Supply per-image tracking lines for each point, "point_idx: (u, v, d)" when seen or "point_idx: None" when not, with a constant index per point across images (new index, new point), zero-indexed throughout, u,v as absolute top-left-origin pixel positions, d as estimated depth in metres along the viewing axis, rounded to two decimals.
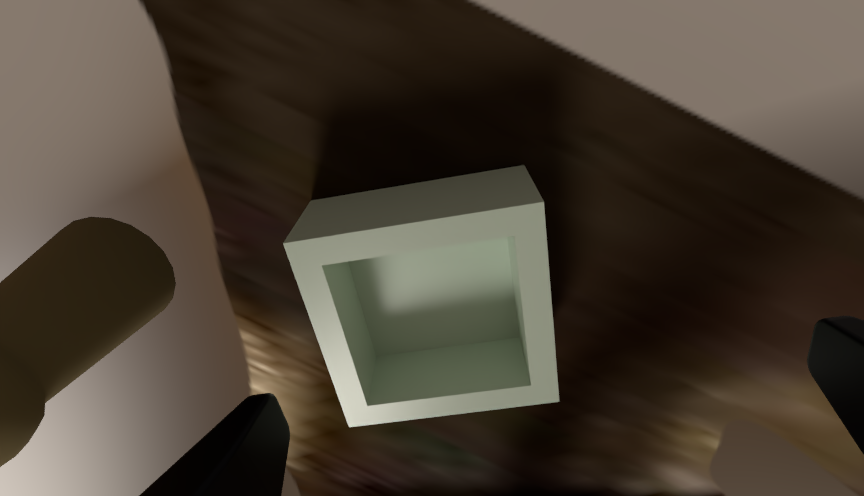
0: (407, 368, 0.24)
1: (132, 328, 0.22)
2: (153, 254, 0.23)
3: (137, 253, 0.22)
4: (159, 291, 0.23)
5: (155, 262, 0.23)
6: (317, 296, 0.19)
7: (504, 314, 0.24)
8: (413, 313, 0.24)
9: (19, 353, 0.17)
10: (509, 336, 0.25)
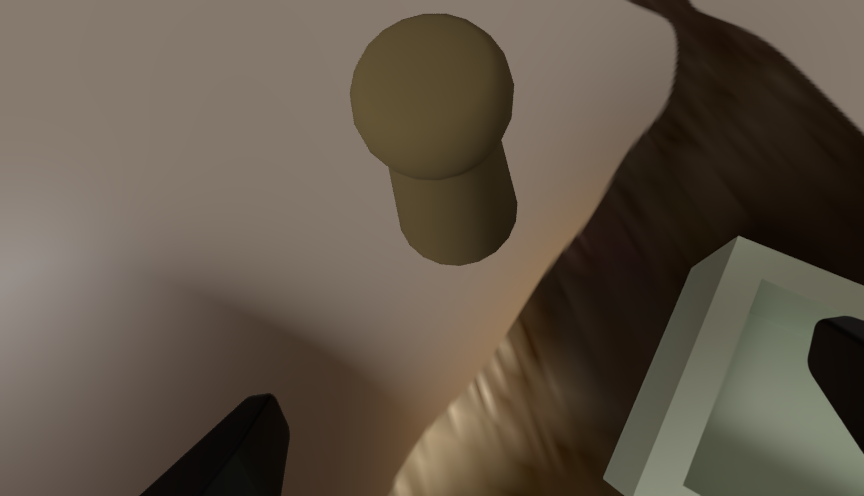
0: None
1: (473, 233, 0.20)
2: (515, 213, 0.23)
3: (514, 197, 0.22)
4: (496, 238, 0.22)
5: (512, 218, 0.23)
6: (731, 305, 0.17)
7: None
8: (737, 446, 0.18)
9: None
10: None
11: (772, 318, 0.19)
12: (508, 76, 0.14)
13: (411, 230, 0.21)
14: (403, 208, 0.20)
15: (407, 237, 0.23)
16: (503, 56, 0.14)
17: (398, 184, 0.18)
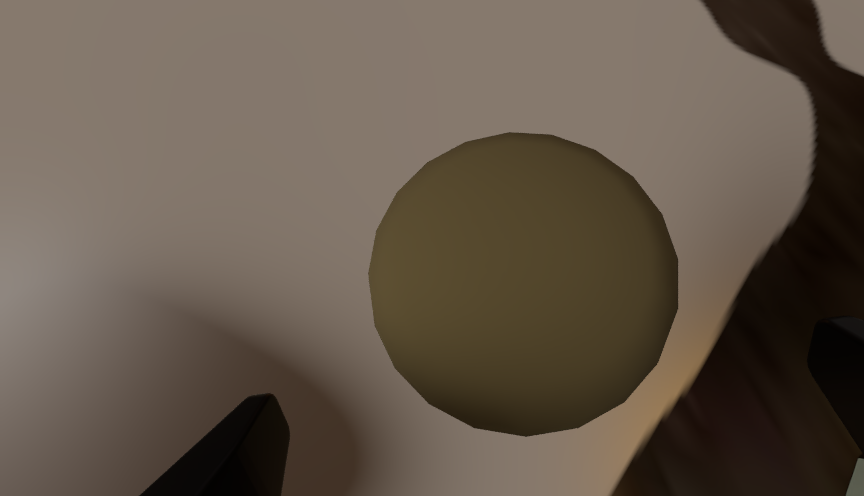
0: None
1: None
2: None
3: None
4: None
5: None
6: None
7: None
8: None
9: None
10: None
11: None
12: (676, 266, 0.07)
13: None
14: None
15: None
16: (664, 224, 0.07)
17: None
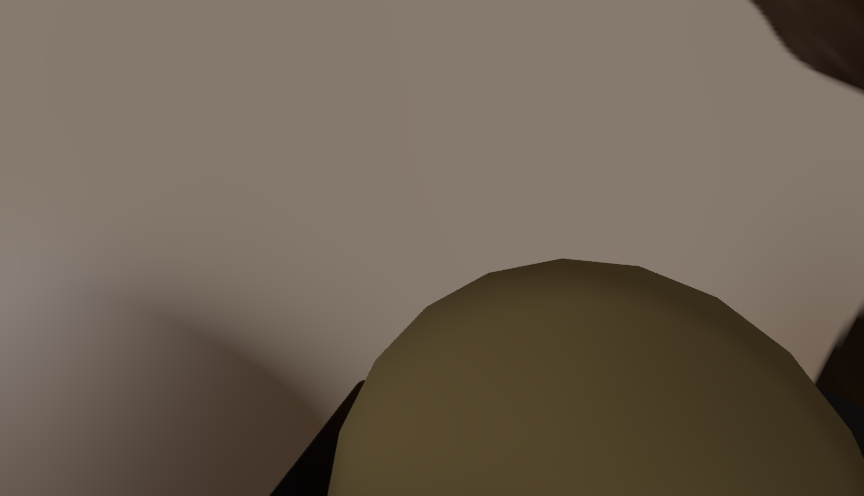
0: None
1: None
2: None
3: None
4: None
5: None
6: None
7: None
8: None
9: None
10: None
11: None
12: None
13: None
14: None
15: None
16: None
17: None
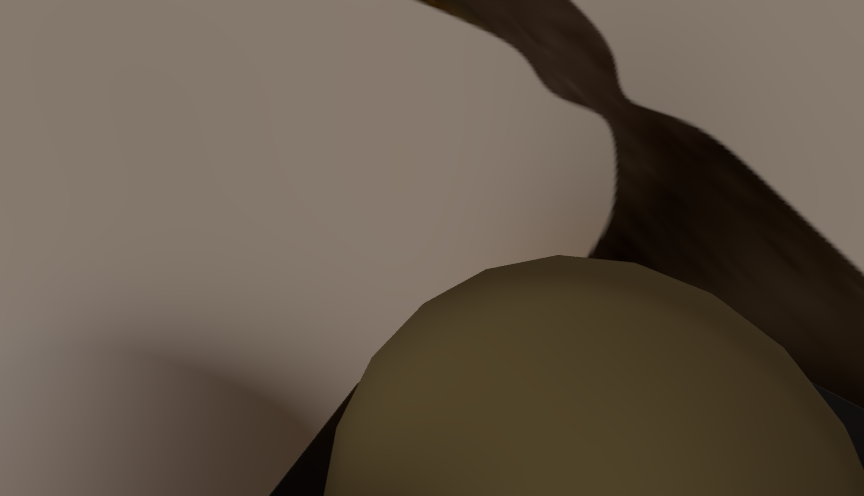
0: None
1: None
2: None
3: None
4: None
5: None
6: None
7: None
8: None
9: None
10: None
11: None
12: None
13: None
14: None
15: None
16: None
17: None
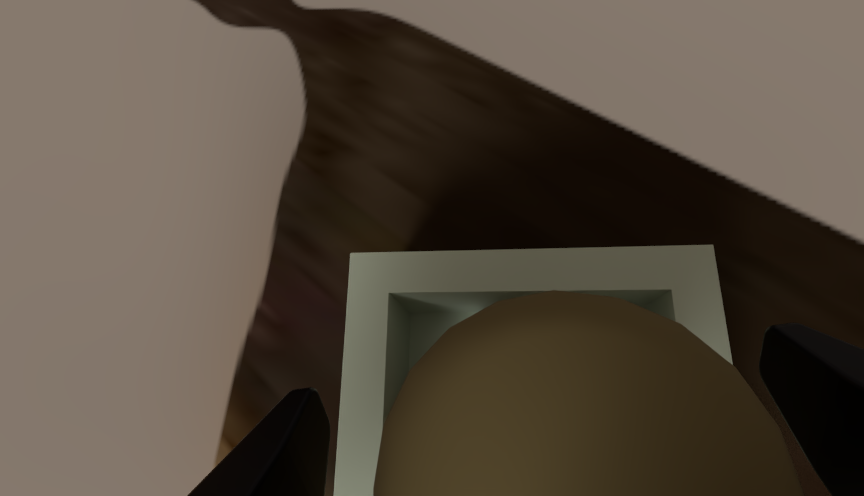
0: None
1: None
2: None
3: None
4: None
5: None
6: (365, 341, 0.13)
7: None
8: None
9: None
10: None
11: (464, 310, 0.16)
12: None
13: None
14: None
15: None
16: (786, 447, 0.05)
17: None
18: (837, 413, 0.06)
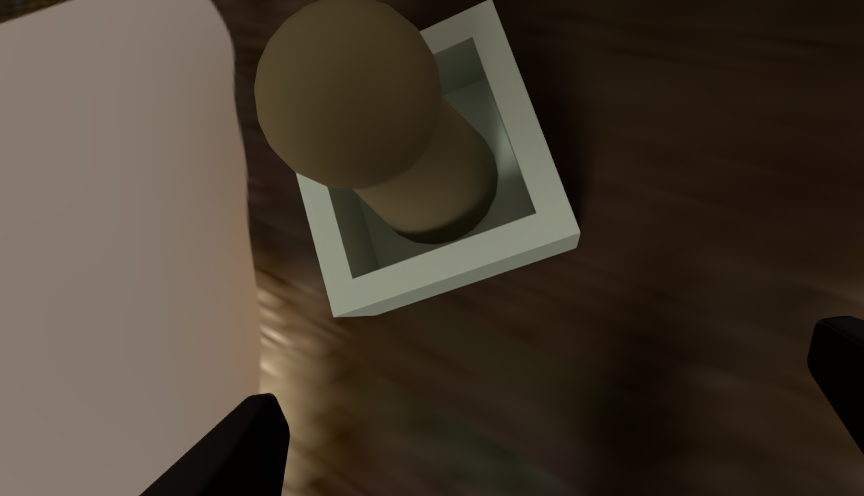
0: None
1: (454, 208, 0.19)
2: (494, 167, 0.21)
3: (488, 152, 0.21)
4: (482, 202, 0.20)
5: (493, 174, 0.21)
6: None
7: (515, 200, 0.21)
8: None
9: None
10: None
11: None
12: (420, 46, 0.12)
13: (392, 224, 0.20)
14: (373, 208, 0.18)
15: None
16: (407, 24, 0.12)
17: (355, 190, 0.17)
18: None
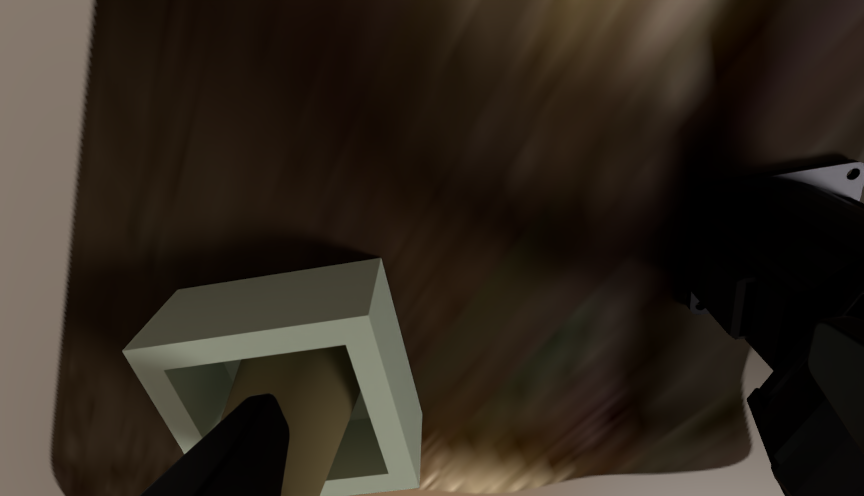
0: None
1: (334, 395, 0.20)
2: None
3: None
4: (329, 350, 0.22)
5: None
6: None
7: None
8: None
9: None
10: None
11: None
12: None
13: None
14: None
15: None
16: None
17: None
18: None
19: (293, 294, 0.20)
